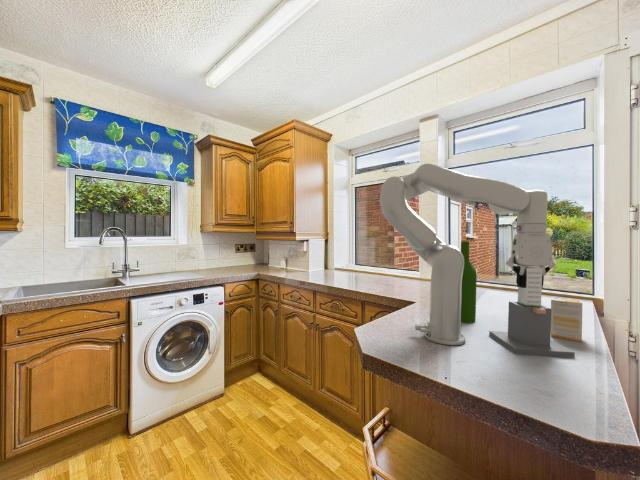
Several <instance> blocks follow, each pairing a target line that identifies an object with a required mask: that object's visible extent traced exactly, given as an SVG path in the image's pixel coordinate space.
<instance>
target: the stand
mask: <svg viewBox="0 0 640 480" xmlns="http://www.w3.org/2000/svg"><path fill="white" fill-rule="evenodd" d="M517 302H518V301H511V300H510V301H508V312H507V313H508V314H507V315H508V317H507V320H508V321H507V331H499V330H489V331H488V332H489V333H488V334H489V336H490V337H491V338H492V339H494V340H495V341H496V342H498V343H500V344H501V345H502V346H504V347H505V348H506V349H508V350H509V351H510V352H512V353H513V354H514V355H524V356H525V355H527V356H542V357H558V358H559V357H561V358H575V357H576V356H575V355H576V354H575V353H576V352H575V351H573V350H572V349H569V348H568V347H565V346H563V345H562V344H560V343H558V342H555V341H554V340H552V339H551V338H552V336H551V307H548V306H546V305H542V304H541V306H542V307H524V306H522V305H519V304H517Z"/></svg>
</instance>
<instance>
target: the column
mask: <svg viewBox="0 0 640 480" xmlns="http://www.w3.org/2000/svg"><path fill="white" fill-rule="evenodd" d="M524 275H525V288H522V287H518V286H517V301H516V302H517V304H519V305H522V306H524V307H542V306H541V305H542V291H543V288H542V268H541V266H525V271H524Z"/></svg>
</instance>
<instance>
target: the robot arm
mask: <svg viewBox="0 0 640 480" xmlns="http://www.w3.org/2000/svg"><path fill="white" fill-rule="evenodd" d="M428 191H429V192H431V193H434V194H437V195H441V196H444V197H446V198H449V199H452V200H455V201H461V202H462V201H463V202H477V203H478V202H479V203H484V204H488V205H487V206H488V208H489V210H490V211H491V212H492V213H493V214H495V215H501V216H502V215H511V214H517V218H516V219H517V221H516V225H513V227H512V230H513V231H516V234H515V233H514V237H513V240H512V244H511V253H510V257H509V258H508V259H507V261H506V262H505V266H507V267H509V268H510V269H511V271H513V272H514V274H516V282H515V283H516V286H517V288H518V287H522V288H525V275H524V271H525V266H541V268H542V289H543V287H544V280H545V279H544V278H545V277H544V276H546V275H547V273H548V272H549V271H550V270H552V269H554V268H555V267H556V266H557V265H556V263H555V261H554V260H553V246H552V239H551V236H550V234H547V222H548V193H547V191H545V190H543V189H542V190H540V189H532V190H525V189H524V188H522V187H520V186H517V185H515V184H512V183H508V182H504V181H502V180H497V179H494V178H488V177H486V178H485V177H480V176H475V175H468V174H465V173H461V172H458V171H455V170H452V169H449V168H445V167H442V166H439V165H436V164H433V163H422V164H421V165H420V166H418V167H417V168H416V169H415V171H414V172H412V173H409V174H408V175H406V176H404V177H399V176H396V175H395V176H390V177H388V178H387V179H385V180H384V182H383V183H382V185H381V190H380V195H379V205H380V210H381V212H382V215H383V216H384V218H385V220H386V221H387V222H388V223H389V224H390V225H391V226H392V227H393V229H395V230H396V231H397V233H398V234H400V235H401V236H402V238H404V239H405V243H406V244H407V245H408V246H409V248H411V249H412V250H413V251H414V252H415V253H416V254H417V255H418V256H419V257H420V258H421V259H422V260H424V262H426V263H427V264H428V265H429V266H430V267H431V273H430V287H429V288H430V289H429V290H430V291H429V292H430V294H429V295H430V297H429V300H430V303H429V321H426V323H425V324H423V325H422V324H415V325H414V330H415V331H420V333H424V337H425V338H426V339H428V341H430V342H434V343H436V344H441V345H445V346H448V345H449V346H460V345H464V344H465V343H466V341H467V340H466V336H464V335H463V334H461V323H462V322H461V289H462V276H463V270H464V257H463V254H462V253H461V249H459V248H458V247H456V246H455V245H453V244H446V243H445V241H443V240H442V239H441V238H439V237H438V236H437V232H436V231H435V229H434V228H433V226H431V225H430V224H428V222H426V221H425V220H424V219H423V218H422V217H420V215H418V214H417V213H416V211H414V210H413V209H412V208H411V207H410V206H409V204H408V202H407V201H408V200H410V199H413V198H415V197H418V196H420V195H423V194H425V193H427V192H428Z"/></svg>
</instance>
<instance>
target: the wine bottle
mask: <svg viewBox="0 0 640 480" xmlns="http://www.w3.org/2000/svg"><path fill="white" fill-rule="evenodd" d="M460 244H461V245H460V251H461V253H462V254H463V257H464V270H463V276H462V289H461V323H464V324H473V323H476V316H477V315H476V314H477V282H478V281H477V279H478V278H477V270H476V269H475V267H474V265H473V264H472V262H471V260H470V241H468V240H467V241H465V240H461V243H460Z"/></svg>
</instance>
